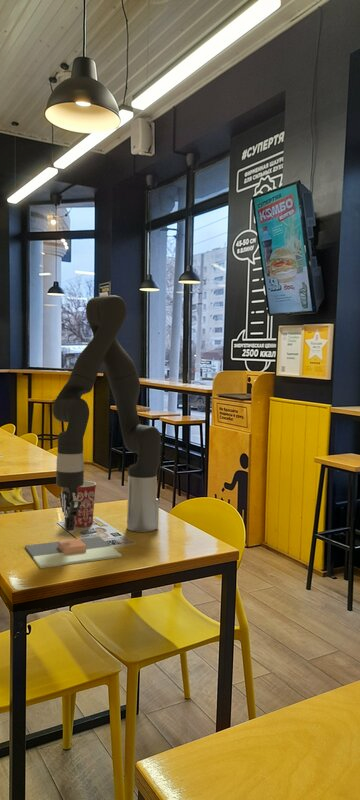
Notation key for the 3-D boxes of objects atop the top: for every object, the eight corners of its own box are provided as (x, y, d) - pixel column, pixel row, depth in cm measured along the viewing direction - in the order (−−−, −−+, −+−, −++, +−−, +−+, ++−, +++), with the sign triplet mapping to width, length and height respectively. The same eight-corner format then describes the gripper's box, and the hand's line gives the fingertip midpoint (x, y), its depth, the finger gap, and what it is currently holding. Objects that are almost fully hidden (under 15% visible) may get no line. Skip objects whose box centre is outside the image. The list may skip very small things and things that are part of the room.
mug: (99, 526, 182) (100, 484, 181) (72, 529, 177) (73, 487, 177) (86, 516, 193) (87, 477, 192) (60, 519, 188) (61, 479, 188)
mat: (99, 538, 168) (99, 536, 168) (121, 556, 152) (121, 554, 152) (24, 547, 158) (24, 545, 158) (40, 568, 142) (40, 566, 142)
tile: (78, 538, 160) (86, 545, 154) (78, 544, 160) (86, 551, 154) (57, 540, 157) (64, 548, 151) (57, 547, 157) (64, 554, 151)
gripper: (90, 471, 152) (89, 534, 153) (76, 464, 164) (75, 522, 165) (63, 473, 149) (62, 537, 150) (50, 465, 161) (50, 525, 162)
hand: (69, 529), depth 157 cm, fingers closed
